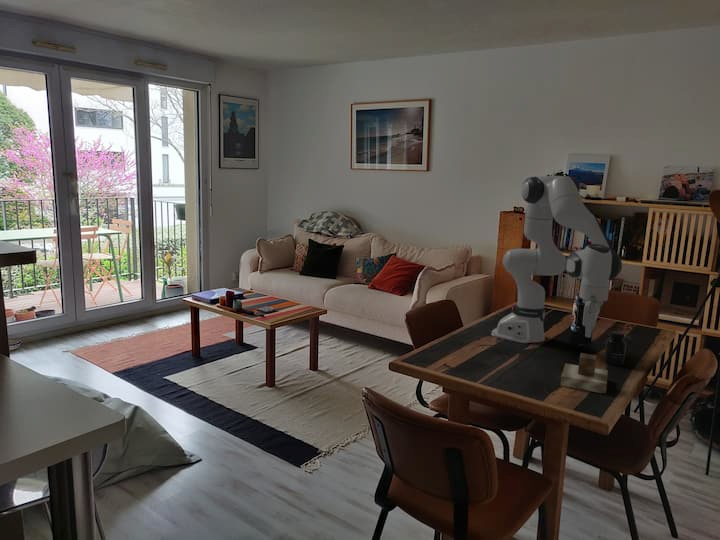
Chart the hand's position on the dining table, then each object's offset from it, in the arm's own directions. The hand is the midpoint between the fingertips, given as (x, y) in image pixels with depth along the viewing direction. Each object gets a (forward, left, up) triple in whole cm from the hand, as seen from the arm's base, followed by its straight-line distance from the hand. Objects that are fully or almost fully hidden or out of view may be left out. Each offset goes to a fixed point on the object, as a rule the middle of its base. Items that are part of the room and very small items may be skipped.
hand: (589, 333), depth 185 cm
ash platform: (0, 0, -18) cm, 18 cm away
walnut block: (0, 0, -14) cm, 14 cm away
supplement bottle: (+8, +28, -18) cm, 34 cm away
